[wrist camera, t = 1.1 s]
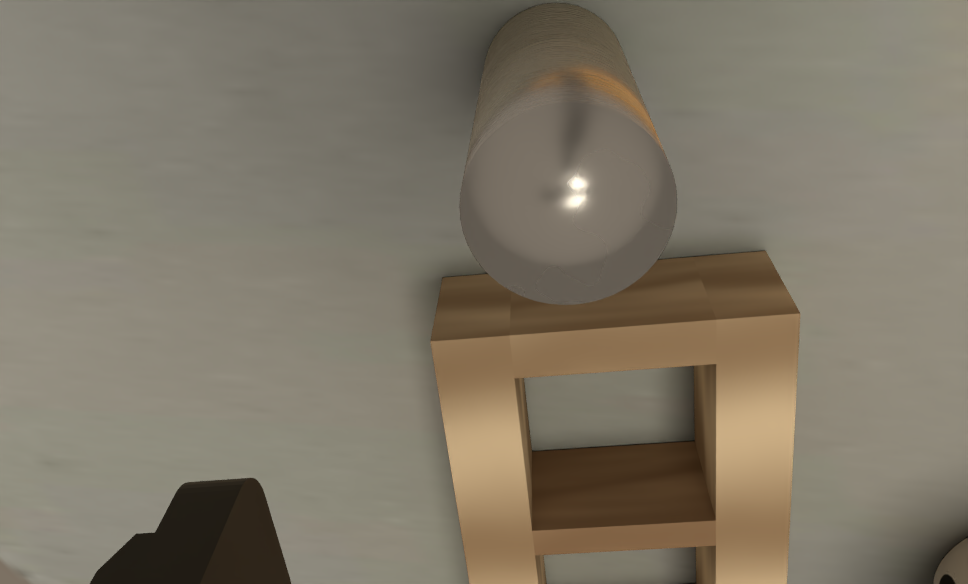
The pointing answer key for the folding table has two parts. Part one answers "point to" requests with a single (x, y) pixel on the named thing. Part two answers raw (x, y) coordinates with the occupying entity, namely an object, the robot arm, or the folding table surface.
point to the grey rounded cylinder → (564, 163)
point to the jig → (634, 468)
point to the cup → (954, 566)
